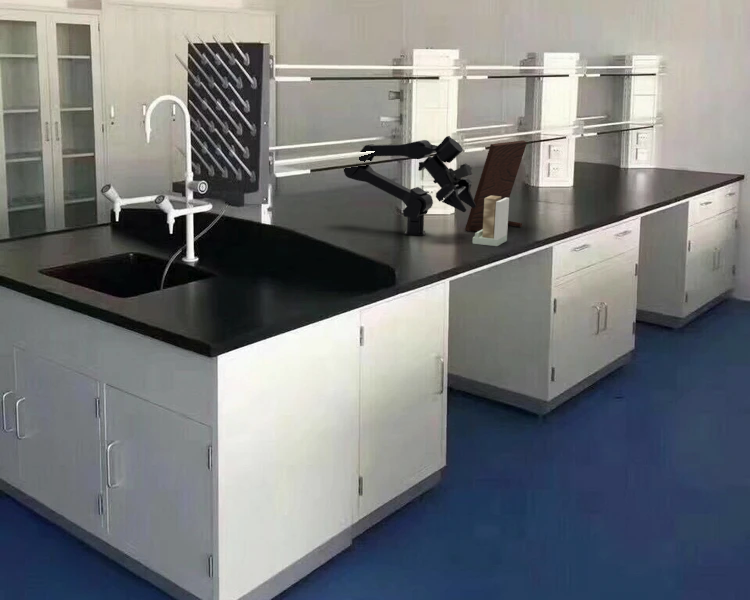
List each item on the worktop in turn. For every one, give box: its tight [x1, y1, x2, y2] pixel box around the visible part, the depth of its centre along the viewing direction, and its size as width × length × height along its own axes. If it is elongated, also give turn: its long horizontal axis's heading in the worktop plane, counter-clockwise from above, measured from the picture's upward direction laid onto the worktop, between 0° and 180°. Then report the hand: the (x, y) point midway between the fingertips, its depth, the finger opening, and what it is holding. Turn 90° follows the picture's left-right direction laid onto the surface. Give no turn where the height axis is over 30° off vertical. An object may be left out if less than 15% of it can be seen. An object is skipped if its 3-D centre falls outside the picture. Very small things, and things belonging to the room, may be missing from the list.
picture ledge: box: [472, 197, 510, 247], centre depth 289 cm, size 8×10×14 cm
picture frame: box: [464, 139, 528, 232], centre depth 309 cm, size 21×11×30 cm, turn 141°
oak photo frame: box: [482, 196, 501, 238], centre depth 288 cm, size 4×6×12 cm, turn 155°
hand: (470, 209), depth 291 cm, fingers open, 9 cm apart
